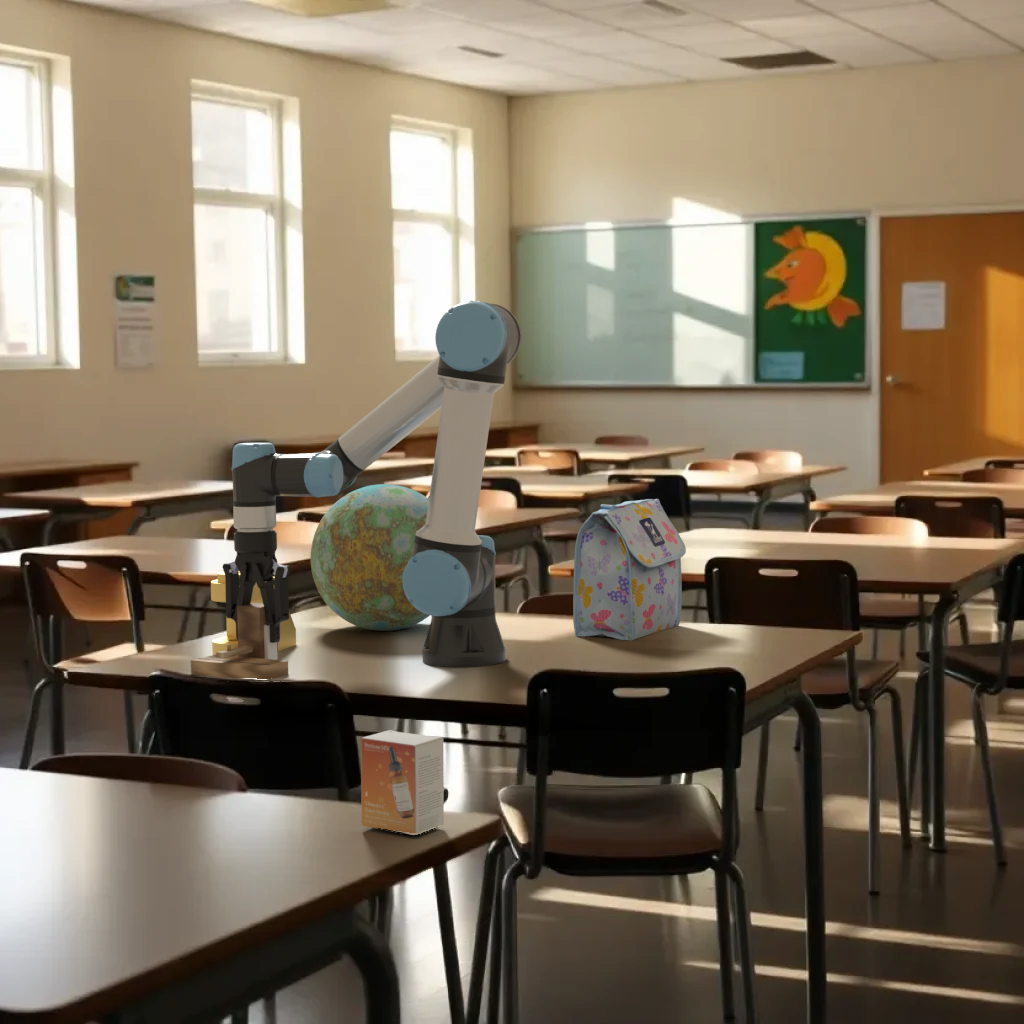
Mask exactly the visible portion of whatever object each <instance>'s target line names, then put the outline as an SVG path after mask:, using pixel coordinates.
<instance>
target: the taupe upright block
mask: <svg viewBox="0 0 1024 1024" xmlns="http://www.w3.org/2000/svg"><path fill="white" fill-rule="evenodd" d="M237 621H238V648H233V649H231V645H227V650H224V651H220V652H216V658H223V659H224V658H229V657H233V656H237V655H238V656H239V657H250V658H261V659H265V649H264V625H266V624H265V623H266V622H267V618H266V613H265V609H264V605H263V603H251V604H246V605H241V606H237ZM277 659H278V660H279V651H278V642H277Z"/></svg>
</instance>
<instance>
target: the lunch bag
mask: <svg viewBox="0 0 1024 1024" xmlns="http://www.w3.org/2000/svg"><path fill="white" fill-rule="evenodd" d="M686 552H687V548H686V544H685V542H684V540H683V539H682V538H681V535H680V534H679V532H678V530H677V529H676V527H675V526H674V524H673V523H672V521H671V520H670V519H669V516H668V515H667V513H666V512H665V510H664V507H663V506H662V505H661V502H660V499H659V498H655V499H653V498H650V499H649V498H646V499H640V500H629V501H628V500H627V501H623V502H621V503H619V504H605V503H602V504H600V509H598V510H597V511H593V512H592V513H591V514H590V516H589V517H588V518H587V519H586V520H585V521H584V522H583V524H582V525H581V527H580V528H579V530H578V533H577V537H576V540H575V546H574V563H573V565H574V566H573V595H572V596H573V599H572V600H573V601H572V604H573V608H572V610H573V611H572V612H573V613H572V614H573V619H572V620H573V623H572V624H573V629H574V635H575V637H585V636H587V637H608V638H613V639H615V640H616V639H617V640H621V641H622V640H623V641H625V640H626V641H634V640H638V639H640V638H643V637H646V636H648V635H651V634H655V633H658V632H662V631H665V630H668V628H669V629H673V628H676V627H679V625H680V622H681V618H682V617H681V616H682V593H683V591H682V584H683V583H682V578H683V577H682V560H681V559H682V558H683V557H684V556H685V554H686Z"/></svg>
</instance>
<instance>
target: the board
mask: <svg viewBox="0 0 1024 1024" xmlns="http://www.w3.org/2000/svg"><path fill="white" fill-rule="evenodd" d="M191 673H192V674H191ZM190 674H191V675H197V674H198V675H197V676H208V677H210V676H211V677H217V678H228V679H237V678H257V679H270V680H272V679H271V678H273V679H276V678H281V677H284V676H288V675H289V660H284V659H282V660H281V659H278V660H272V659H261V658H250V657H239V656H233V657H229V658H224V659H223V658H216V655H213V654H212V655H208V656H203V657H198V658H195V659H190Z"/></svg>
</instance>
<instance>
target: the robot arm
mask: <svg viewBox="0 0 1024 1024" xmlns="http://www.w3.org/2000/svg"><path fill="white" fill-rule="evenodd" d="M434 336H435V346H436V349H437V352H438V356H437V357H436V358H434V359H433V360H432V361H431V362H429V363H428V364H427V365H426V366H425V367H423V369H421V370H419V371H418V372H417V373H416V374H415V375H413V376H412V377H411V378H410V379H409V380H407V381H406V382H405V383H404V384H403V385H402V386H400V387H399V388H398V389H397V390H395V391H394V392H393V393H392V394H390V395H389V396H388V397H387V398H386V399H385V400H383V401H382V402H381V403H379V404H378V405H376V407H375V408H374V409H372V410H371V411H370V412H369V413H367V414H366V415H365V416H363V418H361V419H360V420H359V421H357V422H356V423H355V424H354V425H352V427H350V428H349V429H348V430H347V431H345V432H344V433H342V435H340V436H339V437H338V438H337V439H336V440H335V441H333V442H332V443H331V444H330V445H328V446H327V447H326V448H324V449H323V450H322V451H317V452H311V453H288V454H287V453H277V451H276V448H275V445H274V443H271V442H242V443H237V444H235V445H234V446H233V449H232V460H231V461H232V462H231V463H232V464H231V474H232V494H233V498H232V500H233V503H232V505H233V507H232V508H233V513H232V515H233V528H234V529H235V532H234V533H233V544H234V545H233V548H234V551H235V552H236V557H235V560H234V561H232V562H227V563H224V564H223V565H222V571H223V572H224V574H225V585H226V602H225V618H226V617H227V618H231V619H233V620H234V621H235V623H236V638H237V640H238V621H237V606H241V605H246V604H250V603H251V598H252V592H253V587H254V585H255V584H256V582H257V586H258V588H260V591H261V596H262V600H263V605H264V609H265V613H266V618H267V622H266V623H265V624H266V625H264V649H265V659H272V660H279V658H278V659H277V642H279V641H280V623H281V622H283V621H286V620H288V619H289V612H290V604H289V603H290V602H289V601H290V600H289V597H290V596H289V576H290V573H291V566H290V565H287V564H286V565H284V564H281V563H279V562H278V560H277V557H276V551H277V549H278V539H277V538H278V536H277V535H278V534H277V531H276V530H275V529H274V528H276V526H277V507H276V506H277V499H276V498H277V497H315V498H322V497H325V498H326V497H334V496H337V495H338V494H339V493H340V492H342V491H343V490H344V491H345V489H347V488H349V487H351V486H352V485H353V484H354V483H355V481H356V480H357V478H358V476H359V475H361V474H362V473H363V472H364V471H365V470H366V469H368V468H369V467H370V466H372V464H373V463H375V462H376V461H377V460H378V459H380V458H381V457H382V456H383V455H384V454H386V453H387V452H389V451H390V450H391V449H392V448H393V447H395V446H396V445H397V444H398V443H400V442H401V441H402V440H403V439H405V438H406V437H407V436H408V435H409V434H411V433H413V431H414V430H416V429H417V428H419V426H421V425H422V424H423V423H424V422H425V421H427V420H428V419H430V418H431V417H432V416H433V415H435V413H437V412H438V411H439V410H441V411H440V417H439V423H438V424H439V426H438V432H437V437H436V438H437V439H436V446H435V453H434V461H433V468H432V475H431V483H430V490H429V497H428V499H429V504H428V511H427V518H426V524H425V525H424V526H423V527H422V528H421V529H419V530H418V531H417V532H416V535H415V542H414V548H413V556H412V558H411V559H410V560H409V561H408V564H407V565H406V567H405V570H404V573H403V589H404V592H405V595H406V597H407V599H408V600H409V601H410V603H411V604H412V605H413V606H414V607H415V608H416V609H417V610H419V611H420V612H422V613H424V614H427V615H430V616H431V620H430V623H429V626H428V629H427V630H428V631H427V634H426V638H425V640H424V644H423V648H422V650H421V651H422V662H423V663H424V664H425V665H430V666H434V667H435V666H436V667H443V668H444V667H445V668H475V667H477V668H479V667H486V666H493V665H499V664H502V663H504V662H506V661H507V660H506V658H507V657H506V656H507V655H506V654H507V653H506V650H507V649H506V645H505V644H504V640H503V637H502V634H501V630H500V628H499V625H498V622H497V617H496V555H497V552H496V549H495V541H494V539H493V538H492V537H490V535H482V534H481V535H478V534H477V532H476V525H477V517H478V510H479V503H480V495H481V489H482V482H483V473H484V467H485V459H486V453H487V445H488V438H489V432H490V424H491V418H492V417H491V416H492V411H493V410H492V409H493V402H494V395H495V394H496V392H497V391H499V390H500V389H501V388H503V387H504V386H505V380H506V374H507V368H508V367H507V366H508V365H509V364H510V363H511V362H512V361H514V359H515V358H516V356H517V355H518V353H519V351H520V348H521V345H522V339H523V337H522V336H523V335H522V329H521V326H520V323H519V321H518V319H517V318H516V316H515V315H514V314H513V313H512V312H511V311H510V310H509V309H507V308H506V307H504V306H501V305H498V304H497V303H496V304H495V303H489V302H484V301H481V300H469V301H464V302H461V303H458V304H456V305H454V306H452V307H450V308H449V309H448V310H447V311H446V312H445V313H444V314H443V315H442V317H441V318H440V320H439V321H438V324H437V326H436V329H435V335H434ZM238 571H240V578H239V573H238ZM273 577H275V578H273ZM266 581H267V582H266ZM239 585H240V588H239Z"/></svg>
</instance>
